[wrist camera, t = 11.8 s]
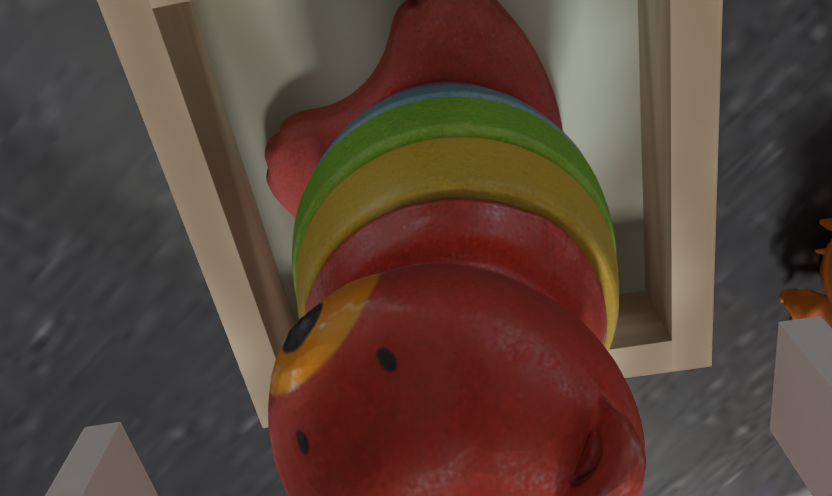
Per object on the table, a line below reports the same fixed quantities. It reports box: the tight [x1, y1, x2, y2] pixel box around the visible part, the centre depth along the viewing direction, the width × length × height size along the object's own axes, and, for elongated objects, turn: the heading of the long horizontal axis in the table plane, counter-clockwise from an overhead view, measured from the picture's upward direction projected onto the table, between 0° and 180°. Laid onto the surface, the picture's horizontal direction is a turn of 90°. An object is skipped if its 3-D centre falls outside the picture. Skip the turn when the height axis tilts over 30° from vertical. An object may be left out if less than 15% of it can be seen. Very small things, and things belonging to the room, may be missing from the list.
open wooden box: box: [97, 0, 723, 428], centre depth 25 cm, size 18×18×4 cm
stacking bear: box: [265, 0, 646, 496], centre depth 19 cm, size 11×10×18 cm
